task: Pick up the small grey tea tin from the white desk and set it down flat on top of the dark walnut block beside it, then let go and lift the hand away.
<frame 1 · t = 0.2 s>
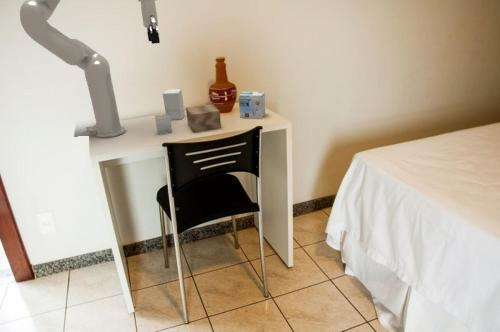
hand: (154, 42, 163), 36 cm above the table, tool pointing down, fingers open, 9 cm apart
walnut block: (204, 127, 173), on the table
light bulb box: (252, 116, 183), on the table
supplement box: (175, 117, 188), on the table
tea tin: (164, 132, 169), on the table
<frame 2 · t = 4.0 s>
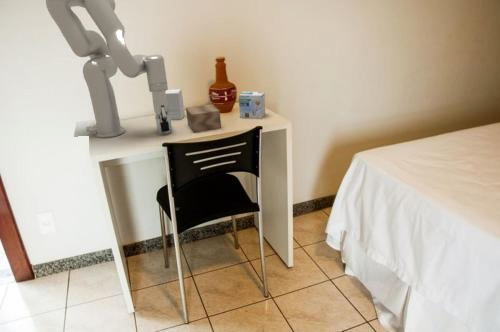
hand: (164, 128, 169), 2 cm above the table, tool pointing down, fingers closed on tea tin, 5 cm apart
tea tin: (164, 132, 169), on the table, touching gripper
everything else where it was.
when the fingers open (10 cm above the table, at t = 10.9 s): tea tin drops 1 cm, point 8 cm above the table.
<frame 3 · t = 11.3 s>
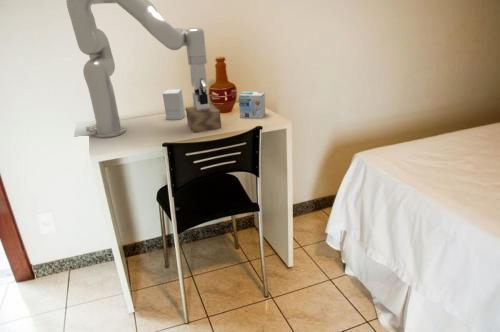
hand: (201, 101, 169), 11 cm above the table, tool pointing down, fingers open, 9 cm apart
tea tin: (202, 109, 170), point 8 cm above the table
everything else where it was.
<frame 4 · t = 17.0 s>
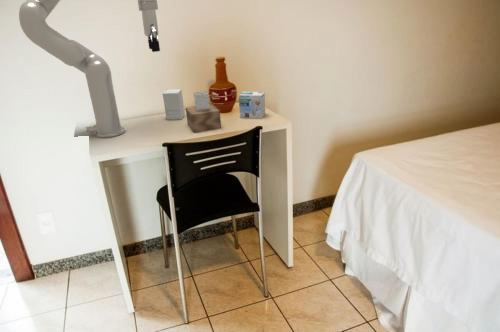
hand: (154, 50, 167), 32 cm above the table, tool pointing down, fingers open, 9 cm apart
walnut block: (204, 127, 173), on the table, touching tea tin
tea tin: (202, 109, 170), point 8 cm above the table, touching walnut block
everything else where it was.
at the end: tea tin inside the target area on the walnut block (0.1 cm from its centre), point 8.0 cm above the walnut block's base; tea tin tilted 0°; the gripper is holding nothing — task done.
